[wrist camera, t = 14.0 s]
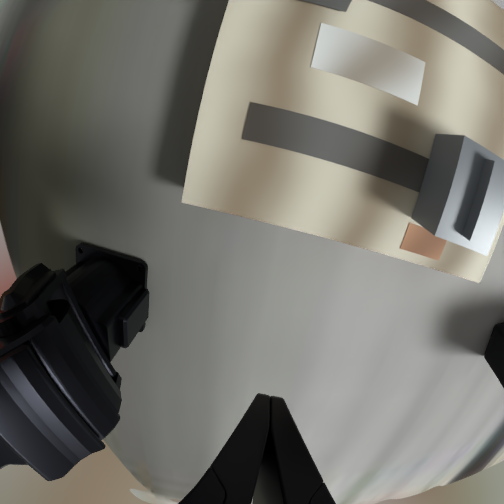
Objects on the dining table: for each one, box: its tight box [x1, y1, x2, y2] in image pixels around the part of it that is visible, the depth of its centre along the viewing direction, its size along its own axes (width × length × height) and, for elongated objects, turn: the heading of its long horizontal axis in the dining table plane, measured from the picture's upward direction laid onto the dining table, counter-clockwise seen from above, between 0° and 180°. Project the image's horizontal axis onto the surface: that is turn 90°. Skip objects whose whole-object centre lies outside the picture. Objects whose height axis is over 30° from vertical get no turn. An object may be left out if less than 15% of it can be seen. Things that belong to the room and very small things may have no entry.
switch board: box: [182, 0, 504, 283], centre depth 13 cm, size 20×20×3 cm
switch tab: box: [411, 134, 504, 256], centre depth 12 cm, size 4×5×4 cm
